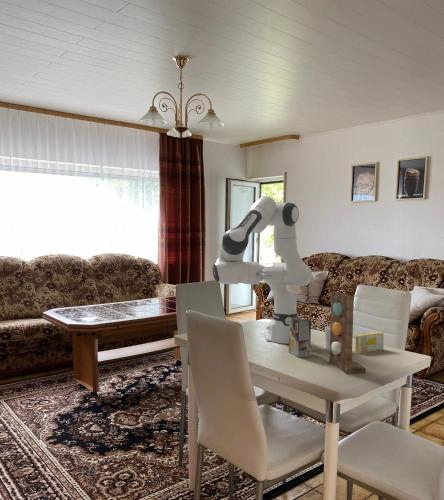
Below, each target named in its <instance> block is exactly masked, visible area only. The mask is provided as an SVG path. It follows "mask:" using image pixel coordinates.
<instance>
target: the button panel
mask: <svg viewBox="0 0 444 500" xmlns="http://www.w3.org/2000/svg"><path fill="white" fill-rule="evenodd" d="M334 303H343V313H342V315H334V313H333V304H334ZM354 304H355V297H354V296H352V295H348V294H346V293H343V292H339V291H335V290H333V291H331V301H330V325H329V327H330V350H329V357H328V359H329V361H328V362H329V363H331V364H332V365H333V366H335V367H336V368H338V369H339V370H341V371H342V372H343V373H344V374H346V375H354V374H355V375H356V374H367V373H366V372H367V370H366V367H365V366H363V365H361V364H360V363H358V362H357V361H355V360H354V359H353V338H354V336H353V335H354V332H353V331H354V308H355V306H354ZM334 322H341V323H342V335H334V334H333V332H332V324H333V323H334ZM332 342H341V354H333V353H332V350H331V345H332Z"/></svg>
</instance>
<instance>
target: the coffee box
mask: <svg viewBox="0 0 444 500" xmlns="http://www.w3.org/2000/svg"><path fill="white" fill-rule="evenodd" d="M311 333H312V319H309V318H306V317H303V316H297V317H290V320H289V344H288V353H290V354H291V355H294V356H296V357H297V358H305V357H311V338H312V337H311V335H312V334H311Z"/></svg>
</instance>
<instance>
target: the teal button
mask: <svg viewBox="0 0 444 500" xmlns="http://www.w3.org/2000/svg"><path fill="white" fill-rule="evenodd" d="M333 313H334V315H342V313H343V303H334V304H333Z"/></svg>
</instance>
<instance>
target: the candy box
mask: <svg viewBox="0 0 444 500" xmlns="http://www.w3.org/2000/svg"><path fill="white" fill-rule="evenodd" d="M384 335H385V333H384V332H382V331H379V332H371V333H365V334H363V333H362V334H355V346H354V347H355V351H354V352H355V353H356V354H363V353H364V352H365V353H370V352H371V351H372V352H378V351H377V350H379V351H383V349H384V345H385V344H384V343H385V342H384V337H385V336H384ZM365 353H364V354H365Z"/></svg>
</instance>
